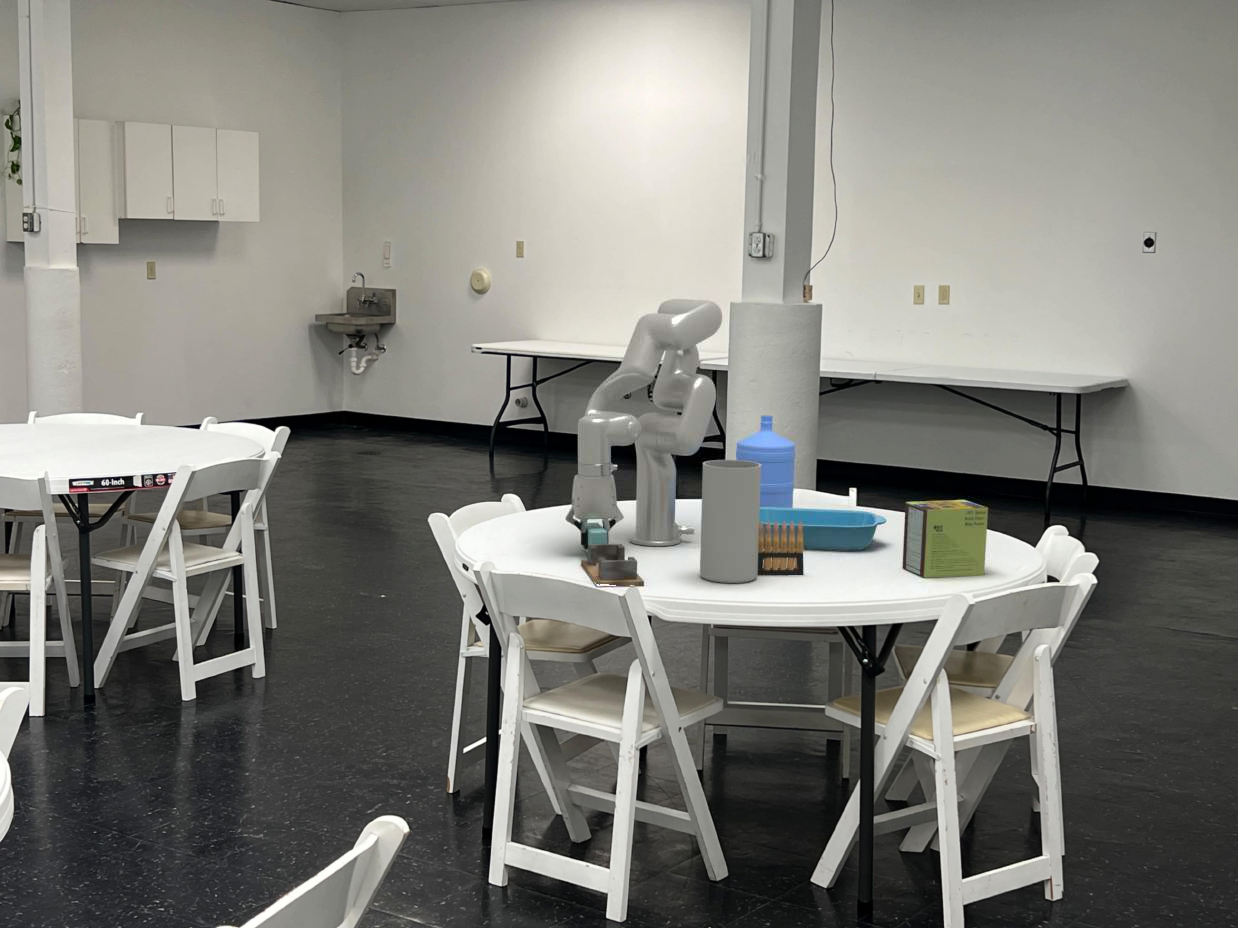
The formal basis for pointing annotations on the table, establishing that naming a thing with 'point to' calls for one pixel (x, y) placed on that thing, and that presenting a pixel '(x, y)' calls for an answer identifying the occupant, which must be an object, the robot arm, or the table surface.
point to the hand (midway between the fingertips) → (594, 547)
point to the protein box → (945, 538)
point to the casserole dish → (825, 526)
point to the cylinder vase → (730, 521)
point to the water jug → (771, 464)
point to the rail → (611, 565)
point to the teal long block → (596, 534)
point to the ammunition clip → (782, 559)
